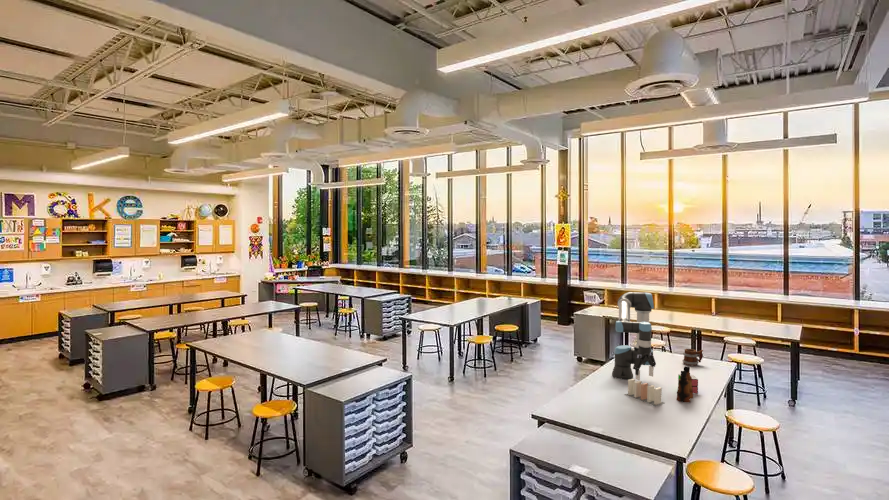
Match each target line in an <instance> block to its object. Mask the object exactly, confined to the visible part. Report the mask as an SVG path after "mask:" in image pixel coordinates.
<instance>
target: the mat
mask: <svg viewBox="0 0 889 500" xmlns="http://www.w3.org/2000/svg"><path fill="white" fill-rule="evenodd" d="M624 396H626V397H629V398H632V399H635V400H637V401H640V402H642V403H645V404H648V405H651V406H654V407H657V406H661V405H665V402H664V401H661V404H657V405H656V404H654V401H652V402H647V399H644V400H642V399H641V396H640V397H634V394H632V395H628V393H625V394H624Z"/></svg>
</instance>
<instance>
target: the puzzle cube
mask: <svg viewBox="0 0 889 500" xmlns="http://www.w3.org/2000/svg"><path fill="white" fill-rule="evenodd" d="M680 376H681V373H679V374H678V376H677V377H678V378H677V379H678V380H679V379H680ZM690 376H691V377H692V389H693V391H692V392H693V394H699V379H698V378H697V377H696V375H694V374H690ZM678 380H677V381H678ZM678 383H679V382H678ZM678 383H677V384H678Z"/></svg>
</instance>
